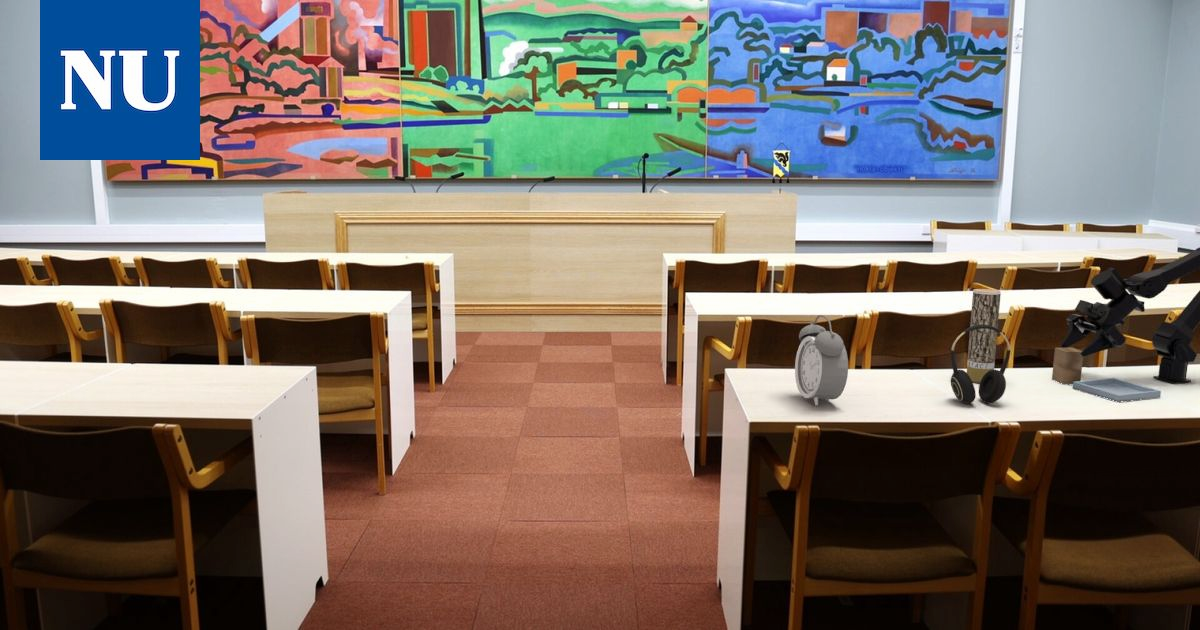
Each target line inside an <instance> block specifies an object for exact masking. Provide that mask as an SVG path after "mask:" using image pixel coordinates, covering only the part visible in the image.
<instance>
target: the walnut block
mask: <svg viewBox="0 0 1200 630" xmlns="http://www.w3.org/2000/svg"><path fill="white" fill-rule="evenodd" d="M1082 351H1083V350H1081V349H1077V348H1074V347H1067V348H1062V347H1055V348H1054V353H1053V354H1054V355H1053V364H1052V374H1051V380H1052V381H1054V380H1055V381H1054V382H1056V381H1057V383H1058V382H1059V383H1058V384H1061V383H1062V384H1061V385H1073V382H1076V381H1082V380H1081V379H1082V369H1083V360H1084V356H1082V355H1081V352H1082Z"/></svg>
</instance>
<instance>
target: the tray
mask: <svg viewBox="0 0 1200 630" xmlns="http://www.w3.org/2000/svg"><path fill="white" fill-rule="evenodd" d="M1072 389H1073V390H1077V391H1079V390H1080V392H1083V393H1086V392H1087V393H1086V394H1089V393H1090V394H1089V395H1092V394H1094V395H1093V396H1096V395H1097V396H1096V397H1099V396H1101V397H1100V398H1102V397H1105V398H1108V399H1111V400H1110V401H1112V400H1114V401H1113V402H1115V401H1117V402H1116V403H1118V402H1119V403H1122V402H1121V401H1127V402H1132V401H1131V400H1136V401H1141V400H1140V399H1145V400H1152V399H1153V398H1154V399H1160V398H1161V395H1162V391H1161V390H1160V389H1154V388H1152V387H1149V386H1144V385H1141V384H1137V383H1134V382H1131V381H1127V380H1123V379H1119V378H1117V377H1109V378H1108V377H1106V378H1100V379H1097V378H1096V379H1088V380H1081V381H1076V382H1073V384H1072ZM1105 398H1104V399H1105ZM1108 399H1107V400H1108Z"/></svg>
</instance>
